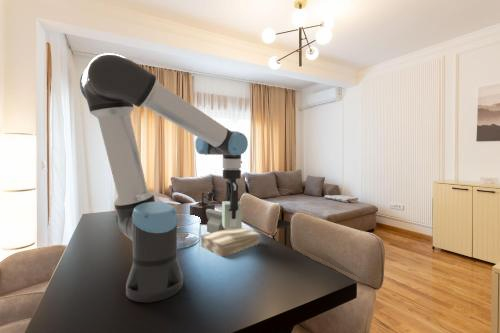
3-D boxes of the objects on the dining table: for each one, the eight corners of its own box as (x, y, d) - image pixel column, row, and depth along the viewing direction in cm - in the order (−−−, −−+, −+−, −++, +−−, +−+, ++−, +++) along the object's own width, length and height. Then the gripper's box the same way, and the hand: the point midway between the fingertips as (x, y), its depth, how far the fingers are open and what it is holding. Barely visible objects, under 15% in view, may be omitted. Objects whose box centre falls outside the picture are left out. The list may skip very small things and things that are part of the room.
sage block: (241, 228, 102) (241, 203, 102) (224, 229, 100) (224, 204, 100) (237, 223, 109) (238, 200, 108) (221, 224, 107) (222, 201, 107)
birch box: (259, 245, 107) (260, 233, 107) (222, 258, 93) (222, 245, 92) (237, 236, 117) (237, 226, 117) (200, 247, 103) (200, 235, 103)
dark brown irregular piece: (188, 222, 139) (188, 190, 138) (200, 218, 149) (201, 188, 148) (210, 226, 132) (211, 192, 131) (222, 221, 142) (222, 190, 141)
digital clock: (234, 234, 120) (235, 212, 119) (218, 238, 114) (218, 215, 114) (218, 226, 133) (218, 206, 132) (202, 229, 127) (202, 208, 127)
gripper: (246, 170, 95) (245, 230, 96) (235, 167, 114) (235, 217, 115) (227, 170, 93) (226, 231, 94) (219, 167, 112) (219, 218, 113)
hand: (231, 223), depth 105 cm, fingers closed on sage block, 7 cm apart
